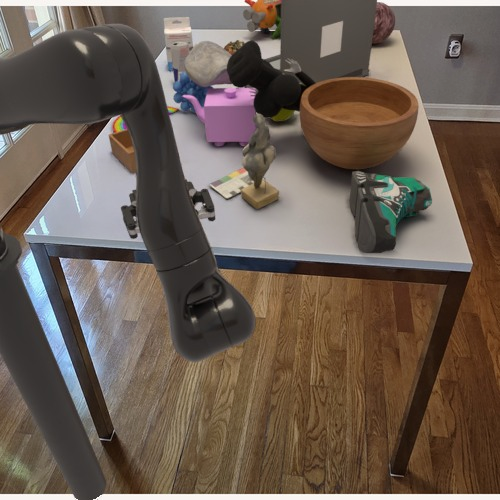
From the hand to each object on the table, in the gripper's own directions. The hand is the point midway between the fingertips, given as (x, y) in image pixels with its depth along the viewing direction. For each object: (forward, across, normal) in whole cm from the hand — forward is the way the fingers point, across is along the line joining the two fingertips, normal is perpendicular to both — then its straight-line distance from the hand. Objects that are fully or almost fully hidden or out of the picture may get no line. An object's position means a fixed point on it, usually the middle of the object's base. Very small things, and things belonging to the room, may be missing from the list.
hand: (160, 189), depth 88 cm
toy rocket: (+105, -66, +12) cm, 125 cm away
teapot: (+39, -23, +14) cm, 47 cm away
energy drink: (+77, -21, +14) cm, 81 cm away
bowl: (+17, -46, +14) cm, 52 cm away
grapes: (+56, -20, +14) cm, 61 cm away
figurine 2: (+15, -19, +14) cm, 28 cm away
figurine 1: (+28, -23, -8) cm, 37 cm away
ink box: (+90, -23, +14) cm, 94 cm away
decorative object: (+54, -7, +14) cm, 56 cm away
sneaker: (-4, -35, +10) cm, 37 cm away
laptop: (+69, -54, +14) cm, 89 cm away
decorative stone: (+42, -24, +2) cm, 49 cm away
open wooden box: (+38, -2, +14) cm, 40 cm away
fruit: (+44, -39, +14) cm, 60 cm away
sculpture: (+83, -68, +4) cm, 107 cm away
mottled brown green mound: (+93, -44, +14) cm, 104 cm away
